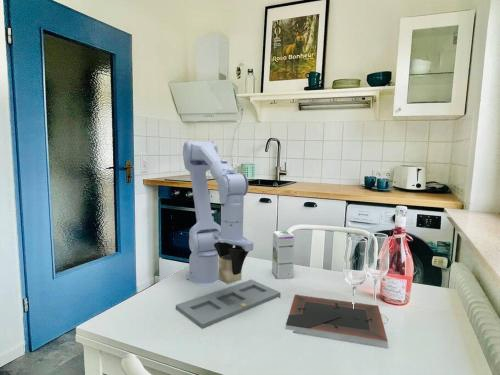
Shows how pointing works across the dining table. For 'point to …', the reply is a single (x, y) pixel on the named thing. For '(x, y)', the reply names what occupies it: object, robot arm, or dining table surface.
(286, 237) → the syrup box
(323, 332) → the picture frame
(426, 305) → the dining table surface
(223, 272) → the frame block
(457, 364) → the dining table surface
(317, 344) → the dining table surface
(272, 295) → the paneled door
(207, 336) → the dining table surface
